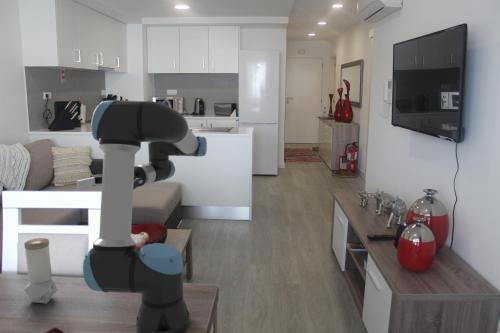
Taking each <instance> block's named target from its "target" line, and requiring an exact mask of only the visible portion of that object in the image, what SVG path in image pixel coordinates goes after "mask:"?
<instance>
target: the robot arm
mask: <svg viewBox="0 0 500 333" xmlns="http://www.w3.org/2000/svg"><path fill="white" fill-rule="evenodd" d="M90 129H91V131H92V132H91V135H92V137H93V139H94V140H95V141H97V142H98V148H100V150H102V153H103V158H102V159H103V160H102V161H103V162H102V163H103V164H102V174H92V175H90V177H88V178H83V179H78V180H76V188H77V189H78V190H80V189H84V188H88V187H94V186H96V185H99V184H100V185H101V198H100V200H101V201H100V216H99V218H100V219H99V233H98V235H99V236H98V237H97V239H96V240H95V241H94V242H93V243H92V248H90V249H88V250H87V251H86V253H85V255H84V259H83V262H82V264H83V265H82V271H83V278H84V282H85V284H86V285H87V286H88V288H89V289H90V290H92V291H95V292H103V293H123V294H124V293H125V294H127V293H128V294H129V293H130V294H140V296H141V303H140V307H139V310H138V315H136V316H137V317H136V320H135V326H136V327H135V328H136V332H137V333H186V332H187V331H188V329H189V328H190V325H191V315H190V312H189V310H188V307H187V304H186V302H185V298H184V264H183V255H182V253H181V251H180V250H179V249H178V248H177V247H175V246H173V245H170V244H166V243H161V242H155V243H154V242H153V243H147V244H145V245H143V246H142V247H141V248H140V249H139V250H138V249H137V242H136V241H135V240H134V239H133V238H132V220H133V202H134V201H133V198H134V190H135V189H136V188H139V187H143V186H148V185H149V184H154V183H156V182H160V181H166V180H168V179H170V178H172V177H173V176H174V174H175V172H176V167H175V164H174V162H173V161H172V160H170V158H169V157H170V156H171V157H175V156H176V157H178V156H179V157H196V158H199V157H205V156H206V154H207V150H208V142H207V138H206V137H205V136H199V135H195V134H194V133H193V132H192V130H191V129H190V128H189V125H188V121H187V120H186V118H185V117H184V116H183V114H181V113H180V112H179V111H177V110H176V109H174V108H173V107H170V106H168V105H166V104H163V103H161V102H157V101H152V100H151V101H149V100H147V101H145V100H144V101H143V100H142V101H141V100H123V99H121V100H118V99H116V100H115V99H114V100H105V101H101V102H100V103H99V104H98V105H97V106H96V107H95V109H94V111H93V114H92V117H91V124H90ZM143 142H144V143H147V145H148V146H147V148H148V163H143V164H139V165H136V166H135V160H136V158H135V157H136V154H137V153H138V151H140V150H141V149H142V148H141V147H142V146H141V145H142V143H143Z"/></svg>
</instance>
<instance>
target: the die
mask: <svg viewBox="0 0 500 333" xmlns="http://www.w3.org/2000/svg"><path fill="white" fill-rule="evenodd" d="M23 290H24V293H25V294H26V295H27V297H28V299H29V300H30V302H31V303H35V304H45V305H46V304H48V303H49V302H50V300H51V299H52V298H53V297H54V295H55V294H56V293H57V291H58V287H57V285H56V284H55V283H54V281H53V279H52V278H51V279H49V280H48V281H45V282H42V283H31V282H29V283H28V284H27V285H26V286H25V287H24V289H23Z"/></svg>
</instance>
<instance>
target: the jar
mask: <svg viewBox="0 0 500 333" xmlns="http://www.w3.org/2000/svg"><path fill="white" fill-rule="evenodd" d="M23 246H24V249H25V260H26V266H27V275H28V282H29V283H30V282H31V283H42V282H45V281H48V280H49V279H52V276H53V275H52V265H51V263H52V262H51V253H50V252H51V251H50V240H49V238H47V237H37V238H32V239H29V240H27V241H25V242H24V243H23Z"/></svg>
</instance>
